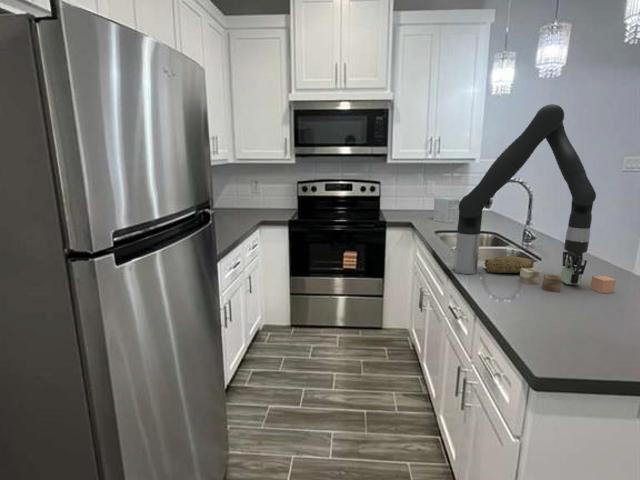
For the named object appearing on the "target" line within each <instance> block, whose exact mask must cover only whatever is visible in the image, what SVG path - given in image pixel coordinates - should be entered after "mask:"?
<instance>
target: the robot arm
mask: <svg viewBox="0 0 640 480" xmlns="http://www.w3.org/2000/svg"><path fill="white" fill-rule="evenodd" d="M564 111H565V110H564V109H563V108H562V106H560V105H558V104H555V103H554V104H553V103H552V104H550V103H549V104H547V105H544V106H542V107H541V108H540V109H539V110H538V111H537V112H536V113H535V116H534V117H533V118H532V120H531V121H530V122H529V124H528V126H527V127H526V128H525V129H524V131H523V132H521V134H520V135H519V136H518V137H517V138H516V139H515V140H514V141H512V143H510V145H508V146H507V147H506V148H505V149H504V151H502V152H501V154H499V156H498V157H497V158H496V159H495V161H494V162H493V163H492V164H491V166H490V167H489V168H488V169H487V171H486V172H485V174H484V176H483V177H482V178H481V180H480V182H479V183H478V184H477V185H476V186H475V187H474V188H472V189H471V191H470V192H469V193H468V194H467V195H464V196H463V197H462V198H460V203H459V218H458V222H457V229H456V231H457V232H456V243H455V244H456V245H455V248H454V251H453V252H454V254H453V266H452V267H453V268H452V269H453V271H454V272H455V273H456V274H457V273H458V274H464V275H474V274H477V273H478V264H479V262H478V261H479V251H480V241H481V231H482V230H481V229H482V218H483V209H484V208H485V207H486V206H487V204H488V202H489V201H490V200H491V199H492V197H493V196H494V195H495V194H496V193H497V192H498V191H500V190H501V189H502V188H503V187H504V186H505V185H506V184H507V183H508V182H510V180H512V178H514V176H515V175H517V173H518V172H519V171H520V169H522V168H523V166H524V165H525V164H526V163H527V161H528V160H529V159H530V157H531V156H532V154H533V153H534V151H536V149H537V147H538V146H539V145H540V144H541V143H542V142H543V141H544V140H546V141H547V143H548V145H549V147H550V149H551V151H552V153H553V155H554V158H555V161H556V164H557V166H558V168H559V171H560V173H561V175H562V177H563V179H564V181H565V183H566V184H567V187H568V189H569V192H570V195H571V210H570V214H569V218H568V225H567V229H566V232H565V233H566V234H565V238H564V240H565V241H564V245H563V249H564V250H565V251H562V267H563V268H572V277H571V283H572V284H571V285H578V284H577V283H578V278H579V275H580V274H581V275H582V276H583V275H584V272H585V269H586V267H587V264H588V263H587V262H588V261H587V260H585V259H583V258H584V257H583V254H584V253H587V252H588V248H589V243H590V237H591V225H592V218H593V215H592V210H593V206H594V202H595V200H596V197H597V194H596V191H595V189H594V187H593V185H592V183H591V181H590V179H589V178H588V176H587V172H586V169H585V167H584V164H583V163H582V160H581V158H580V157H579V155H578V153H577V151H576V150H575V148H574V146H573V145H572V142H571V141H570V139H569V137H568V134H567V133H566V130H565V125H564V119H565V112H564ZM575 268H576V270H575Z"/></svg>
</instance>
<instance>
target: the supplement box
mask: <svg viewBox="0 0 640 480" xmlns="http://www.w3.org/2000/svg"><path fill="white" fill-rule="evenodd" d="M433 199H434V201H433V202H434V203H433V218H432V220H433V222H439V223H443V224H449V223H455V222H456V223H458V220H459V203H460V201H461V198H459V197H454V196H453V197H451V196H438V197H434V198H433Z"/></svg>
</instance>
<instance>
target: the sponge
mask: <svg viewBox="0 0 640 480" xmlns="http://www.w3.org/2000/svg"><path fill="white" fill-rule="evenodd" d="M484 261H485V262H484V265H485V268H486V270H487V273H495V274H503V273H504V274H505V273H507V274H518V273H519V274H520V270H521V268H534V265H535V262H534V261H533V260H532V259H529V258H526V257H521V256H520V257H518V256H513V255H512V256H511V255H510V256H503V257H500V256H497V257H492V258H488V259H485V260H484Z"/></svg>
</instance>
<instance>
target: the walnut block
mask: <svg viewBox="0 0 640 480" xmlns="http://www.w3.org/2000/svg"><path fill="white" fill-rule="evenodd" d="M542 280H543V281H542V289H543V292H553V293H561V292H560V291H561V285H562V280H561V275H555V274H543V279H542Z"/></svg>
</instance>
